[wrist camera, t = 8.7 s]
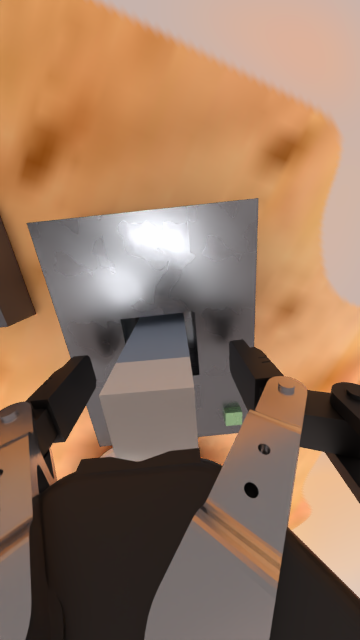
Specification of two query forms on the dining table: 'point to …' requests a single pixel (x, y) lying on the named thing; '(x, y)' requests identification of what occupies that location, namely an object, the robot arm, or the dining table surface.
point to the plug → (152, 391)
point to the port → (157, 292)
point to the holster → (11, 286)
